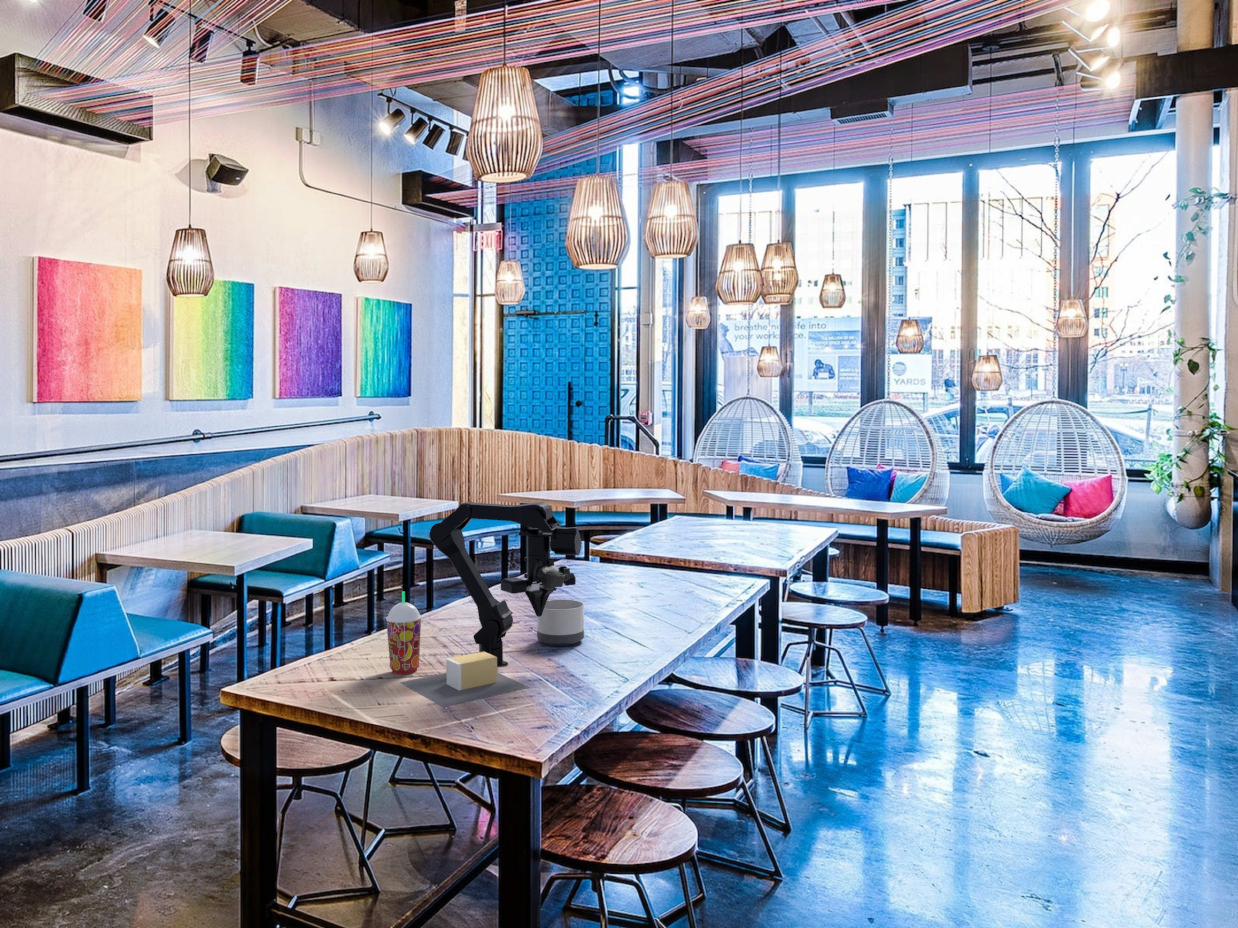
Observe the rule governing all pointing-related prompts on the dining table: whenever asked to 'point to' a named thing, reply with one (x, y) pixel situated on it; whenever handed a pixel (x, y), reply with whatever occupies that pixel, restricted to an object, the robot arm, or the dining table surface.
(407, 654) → the smoothie
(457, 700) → the charcoal mat
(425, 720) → the dining table surface
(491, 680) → the pale yellow block
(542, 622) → the planter
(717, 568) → the dining table surface
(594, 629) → the dining table surface
